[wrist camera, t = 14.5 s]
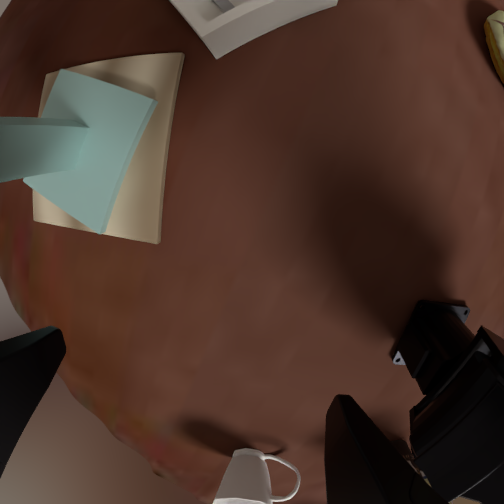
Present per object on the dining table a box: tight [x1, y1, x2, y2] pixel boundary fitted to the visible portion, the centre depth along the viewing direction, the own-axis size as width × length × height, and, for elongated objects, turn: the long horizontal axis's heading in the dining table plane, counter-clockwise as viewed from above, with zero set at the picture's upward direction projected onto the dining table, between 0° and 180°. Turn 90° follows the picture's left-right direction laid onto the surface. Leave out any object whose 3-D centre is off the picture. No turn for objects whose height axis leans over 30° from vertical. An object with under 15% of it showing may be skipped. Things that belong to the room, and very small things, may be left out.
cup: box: [213, 448, 300, 504], centre depth 24 cm, size 7×10×8 cm
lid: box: [0, 69, 158, 235], centre depth 12 cm, size 10×10×12 cm
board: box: [33, 53, 185, 244], centre depth 18 cm, size 14×14×1 cm
